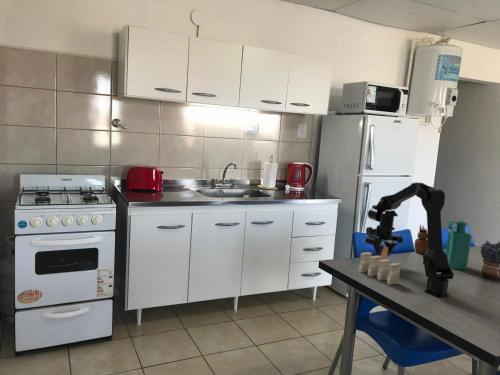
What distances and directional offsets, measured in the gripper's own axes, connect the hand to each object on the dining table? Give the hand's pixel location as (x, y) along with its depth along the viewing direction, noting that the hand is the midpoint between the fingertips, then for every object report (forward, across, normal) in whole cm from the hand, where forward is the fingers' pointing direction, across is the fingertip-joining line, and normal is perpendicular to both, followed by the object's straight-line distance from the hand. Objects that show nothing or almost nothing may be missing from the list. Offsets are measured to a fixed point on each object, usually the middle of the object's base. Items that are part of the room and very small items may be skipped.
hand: (382, 258), depth 189 cm
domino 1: (+4, +14, +3) cm, 15 cm away
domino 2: (+4, +14, +8) cm, 16 cm away
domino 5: (+4, +14, +18) cm, 23 cm away
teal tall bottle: (+4, -35, +13) cm, 38 cm away
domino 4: (+4, +14, +13) cm, 19 cm away
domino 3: (+3, 0, 0) cm, 3 cm away
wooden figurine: (+4, -39, -8) cm, 40 cm away
